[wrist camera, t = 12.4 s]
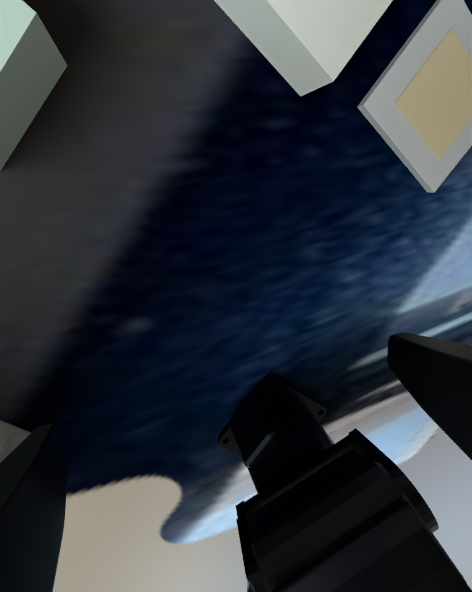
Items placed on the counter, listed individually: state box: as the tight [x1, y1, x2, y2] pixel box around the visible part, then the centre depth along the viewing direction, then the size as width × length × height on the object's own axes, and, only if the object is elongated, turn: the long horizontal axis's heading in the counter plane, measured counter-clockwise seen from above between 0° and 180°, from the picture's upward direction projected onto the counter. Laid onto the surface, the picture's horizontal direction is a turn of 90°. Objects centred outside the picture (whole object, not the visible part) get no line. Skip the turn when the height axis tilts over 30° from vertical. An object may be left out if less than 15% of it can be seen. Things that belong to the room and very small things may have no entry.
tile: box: [357, 0, 472, 193], centre depth 22 cm, size 8×8×1 cm
